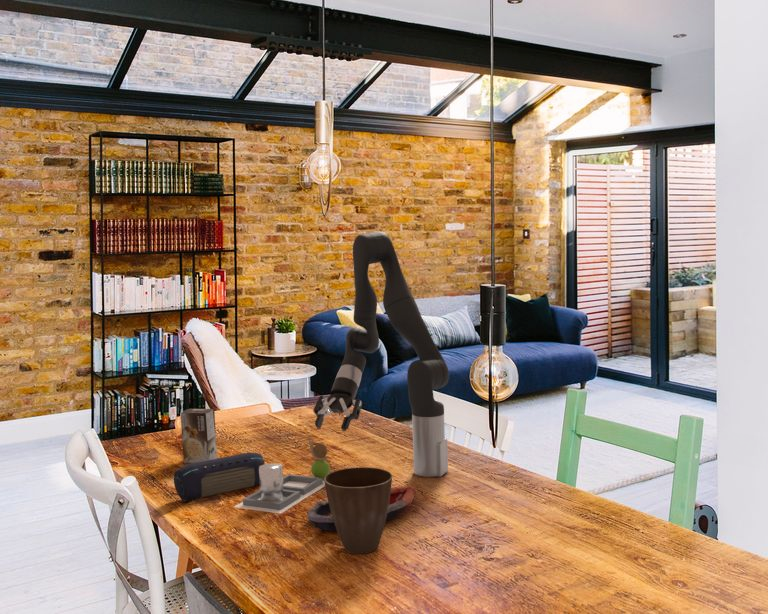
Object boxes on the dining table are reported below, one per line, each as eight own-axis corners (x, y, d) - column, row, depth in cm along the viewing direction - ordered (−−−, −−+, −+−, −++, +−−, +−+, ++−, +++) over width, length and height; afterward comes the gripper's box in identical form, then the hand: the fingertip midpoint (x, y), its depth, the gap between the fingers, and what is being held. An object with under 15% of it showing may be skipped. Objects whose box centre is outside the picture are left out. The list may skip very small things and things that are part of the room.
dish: (294, 523, 186) (293, 503, 186) (399, 497, 203) (399, 478, 202) (325, 543, 173) (324, 521, 173) (434, 513, 190) (434, 493, 189)
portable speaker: (184, 509, 198) (181, 471, 197) (171, 499, 207) (169, 462, 206) (272, 489, 212) (271, 454, 211) (257, 480, 220) (256, 446, 220)
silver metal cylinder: (288, 498, 199) (286, 464, 198) (275, 506, 194) (274, 471, 193) (268, 496, 202) (267, 462, 201) (255, 503, 196) (254, 469, 195)
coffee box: (218, 458, 245) (215, 408, 243) (209, 464, 238) (206, 413, 237) (192, 457, 247) (189, 407, 245) (182, 463, 241) (179, 412, 239)
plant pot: (312, 548, 170) (310, 478, 168) (362, 529, 180) (360, 462, 179) (358, 567, 159) (356, 492, 158) (408, 546, 170) (406, 475, 168)
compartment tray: (331, 487, 212) (330, 476, 212) (281, 519, 189) (280, 507, 188) (287, 482, 218) (287, 471, 218) (233, 512, 194) (233, 501, 194)
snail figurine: (316, 474, 224) (314, 433, 223) (334, 477, 221) (332, 436, 220) (304, 479, 220) (303, 438, 219) (323, 482, 216) (321, 440, 215)
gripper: (321, 374, 236) (304, 420, 227) (363, 377, 230) (347, 423, 221) (330, 388, 241) (314, 433, 232) (371, 391, 235) (356, 437, 226)
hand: (330, 428), depth 226 cm, fingers open, 8 cm apart
